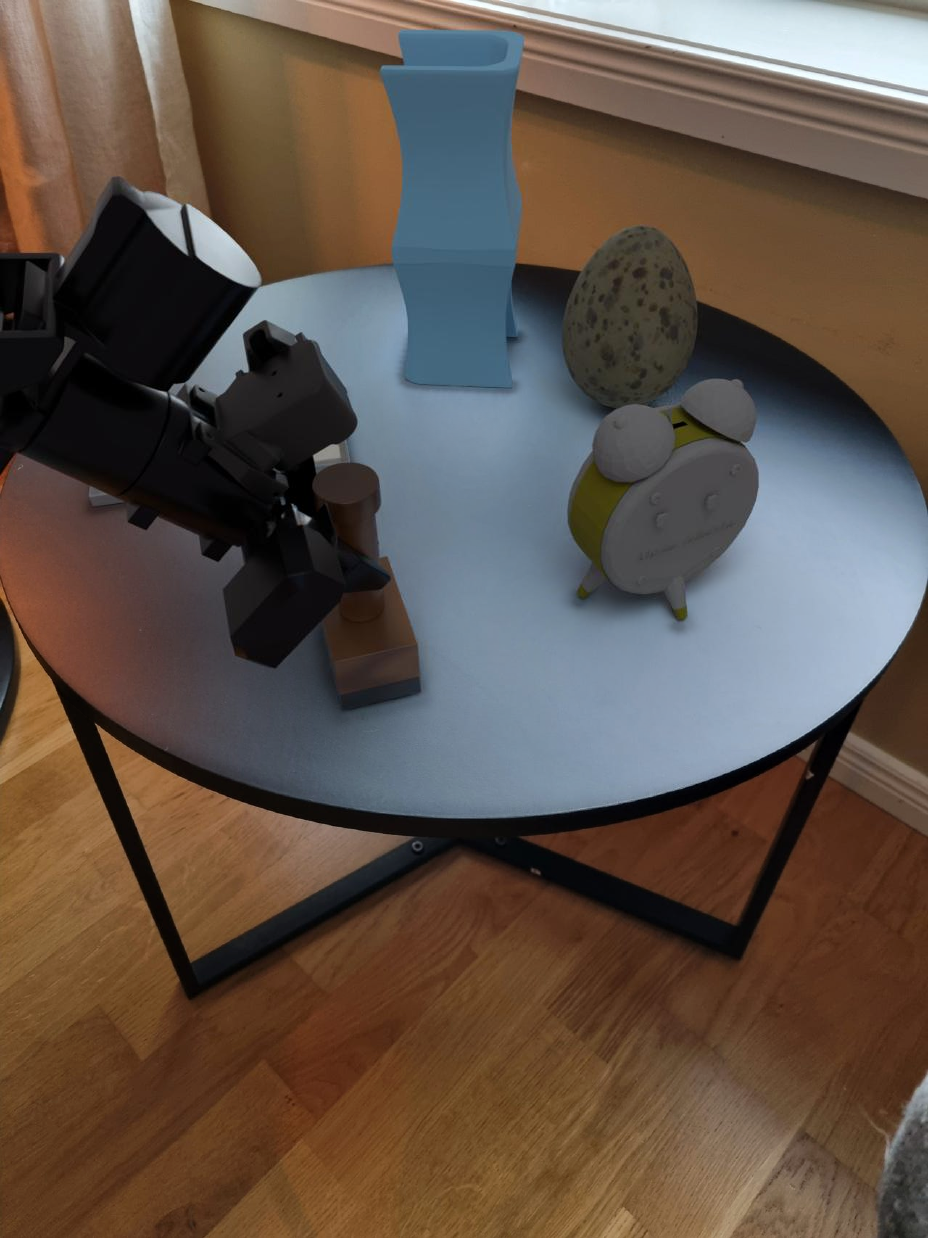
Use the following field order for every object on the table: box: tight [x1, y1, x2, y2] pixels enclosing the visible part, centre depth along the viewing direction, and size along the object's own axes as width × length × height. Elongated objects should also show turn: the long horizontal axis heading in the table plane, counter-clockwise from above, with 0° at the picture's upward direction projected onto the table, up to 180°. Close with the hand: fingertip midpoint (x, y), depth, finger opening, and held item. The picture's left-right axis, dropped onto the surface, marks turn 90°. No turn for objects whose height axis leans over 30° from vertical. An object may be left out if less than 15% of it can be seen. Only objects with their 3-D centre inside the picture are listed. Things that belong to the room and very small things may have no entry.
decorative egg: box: [561, 224, 698, 410], centre depth 74 cm, size 11×11×15 cm
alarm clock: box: [566, 378, 760, 620], centre depth 58 cm, size 12×7×15 cm, turn 117°
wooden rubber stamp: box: [312, 461, 422, 711], centre depth 54 cm, size 5×8×14 cm, turn 16°
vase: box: [379, 29, 525, 389], centre depth 76 cm, size 10×10×25 cm
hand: (380, 564), depth 54 cm, fingers closed on wooden rubber stamp, 3 cm apart
